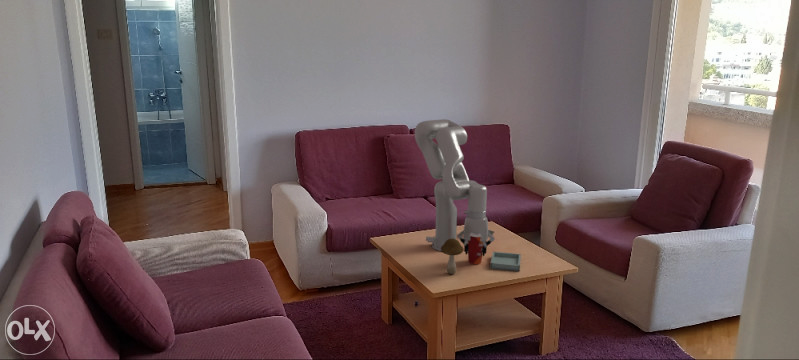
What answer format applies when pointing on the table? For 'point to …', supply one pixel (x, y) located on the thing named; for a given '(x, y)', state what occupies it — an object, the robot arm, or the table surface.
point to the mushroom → (451, 253)
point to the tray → (505, 261)
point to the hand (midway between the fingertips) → (475, 253)
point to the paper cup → (475, 249)
